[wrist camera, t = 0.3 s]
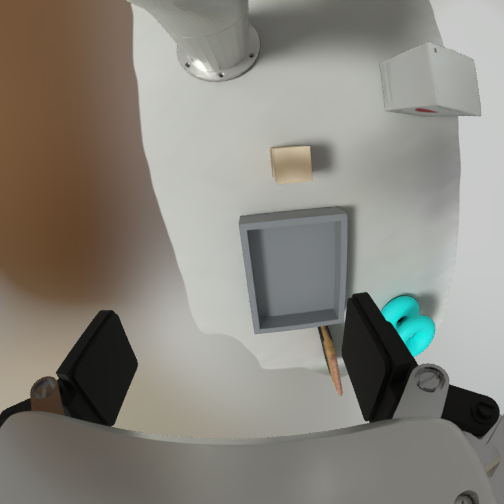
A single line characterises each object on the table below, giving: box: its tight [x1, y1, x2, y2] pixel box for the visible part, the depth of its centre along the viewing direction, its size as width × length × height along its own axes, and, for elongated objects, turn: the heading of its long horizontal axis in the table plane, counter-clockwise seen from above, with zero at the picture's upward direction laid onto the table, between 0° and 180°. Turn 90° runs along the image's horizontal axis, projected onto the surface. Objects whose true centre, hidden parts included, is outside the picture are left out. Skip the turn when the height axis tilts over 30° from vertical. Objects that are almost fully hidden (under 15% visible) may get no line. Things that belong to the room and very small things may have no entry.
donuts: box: [381, 296, 435, 357], centre depth 47 cm, size 10×10×10 cm
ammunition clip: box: [318, 325, 342, 396], centre depth 48 cm, size 11×2×12 cm, turn 18°
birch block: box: [270, 145, 313, 184], centre depth 36 cm, size 4×4×8 cm
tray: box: [239, 207, 347, 334], centre depth 45 cm, size 20×16×4 cm
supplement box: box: [380, 42, 481, 116], centre depth 28 cm, size 9×9×15 cm
